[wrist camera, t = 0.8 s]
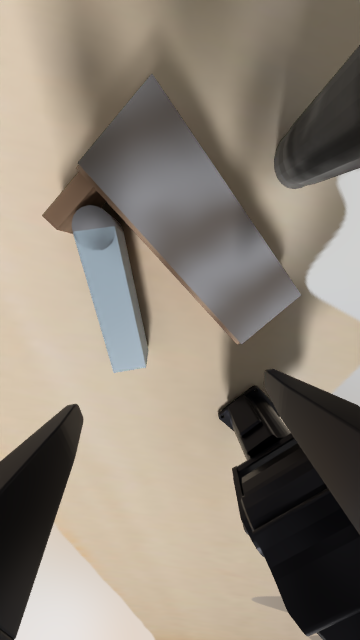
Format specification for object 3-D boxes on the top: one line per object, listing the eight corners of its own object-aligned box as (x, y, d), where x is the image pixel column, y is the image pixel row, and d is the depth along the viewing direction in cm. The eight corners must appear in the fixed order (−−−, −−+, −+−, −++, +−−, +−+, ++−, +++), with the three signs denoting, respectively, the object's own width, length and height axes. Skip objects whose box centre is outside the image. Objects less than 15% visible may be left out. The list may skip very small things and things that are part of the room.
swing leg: (148, 350, 21) (146, 367, 18) (121, 354, 21) (113, 372, 17) (119, 213, 16) (109, 202, 13) (84, 218, 16) (65, 208, 13)
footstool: (273, 286, 20) (306, 295, 16) (197, 351, 22) (207, 376, 17) (154, 121, 15) (151, 63, 10) (65, 223, 17) (29, 211, 12)
